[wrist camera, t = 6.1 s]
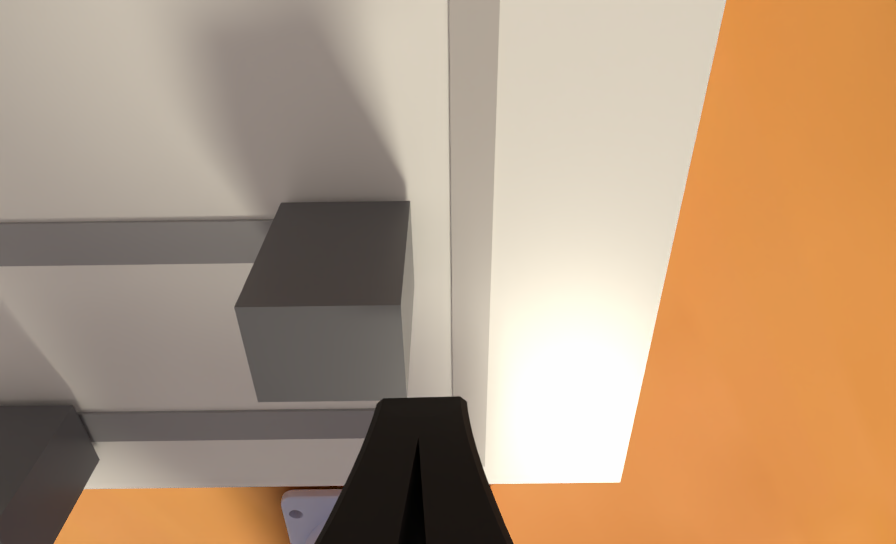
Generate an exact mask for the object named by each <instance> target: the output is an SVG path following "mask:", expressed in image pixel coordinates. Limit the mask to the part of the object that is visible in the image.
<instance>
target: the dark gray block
mask: <svg viewBox="0 0 896 544" xmlns="http://www.w3.org/2000/svg"><path fill="white" fill-rule="evenodd" d="M413 300H414V266H413V246H412V226H411V206H410V201H362V202H285V203H281V204H280V206H279V208H278V210H277V213H276V215H275V217H274V219H273V222H272V224H271V226H270V228H269V231H268V233H267V235H266V237H265V239H264V242H263V244H262V246H261V248H260V251H259V253H258V255H257V257H256V260H255V262H254V264H253V266H252V268H251V271H250V273H249V275H248V277H247V280H246V282H245V284H244V286H243V289H242V291H241V293H240V295H239V298H238V300H237V302H236V304H235V306H234V309H235V313H236V317H237V321H238V325H239V329H240V333H241V337H242V340H243V344H244V348H245V352H246V356H247V360H248V364H249V368H250V372H251V376H252V380H253V384H254V388H255V392H256V396H257V400H258V402H313V401H381V400H382V399H383V398H407V394H408V378H409V362H410V347H411V331H412V316H413Z"/></svg>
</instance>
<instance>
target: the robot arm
mask: <svg viewBox="0 0 896 544" xmlns="http://www.w3.org/2000/svg"><path fill="white" fill-rule="evenodd" d="M281 508H282V512H283V516H284V519H285V523H286V527H287V531H288V535H289V539H290V543H291V544H513V542H512V539H511V537H510V535H509V532H508V530H507V528H506V526H505V523H504V521H503V518H502V516H501V513H500V511H499V508H498V506H497V503H496V501H495V498H494V496H493V493H492V491H491V488H490V486H489V483H488V480H487V478H486V475H485V472H484V469H483V466H482V463H481V460H480V457H479V454H478V450H477V447H476V444H475V440H474V437H473V433H472V428H471V424H470V419H469V414H468V406H467V401H466V400H464V399H463V398H462V397H460V396H453V397H413V398H383V399H382V400H381V401H379V402H378V403H377V404H376V408H375V411H374V414H373V418H372V420H371V423H370V426H369V429H368V432H367V434H366V437H365V439H364V442H363V444H362V447H361V449H360V452H359V454H358V456H357V458H356V461H355V463H354V465H353V468H352V470H351V472H350V474H349V476H348V479H347V481H346V483H345V485H344V487H343V489H300V490H289V491H287V492H285V493H284V494H283V496H282V500H281Z"/></svg>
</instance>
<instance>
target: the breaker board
mask: <svg viewBox="0 0 896 544" xmlns="http://www.w3.org/2000/svg"><path fill="white" fill-rule="evenodd" d="M725 3H726V0H0V406H41V405H73V406H74V408H75V410H76V412H77V414H78V416H79V418H80V420H81V422H82V424H83V426H84V428H85V430H86V432H87V435H88V437H89V439H90V441H91V443H92V445H93V447H94V449H95V451H96V453H97V455H98V457H99V459H100V460H99V462H98V464H97V466H96V468H95V469H94V471H93V473H92V475H91V477H90V478H89V480H88V482H87V484H86V486H85V487H84V489H123V488H202V487H282V486H344V485H345V483H346V481H347V479H348V476H349V474H350V472H351V470H352V468H353V465H354V463H355V461H356V458H357V456H358V454H359V452H360V449H361V447H362V444H363V442H364V439H365V437H366V434H367V432H368V429H369V426H370V423H371V420H372V418H373V414H374V411H375V408H376V404H377V403H378V402H379V401H313V402H258V400H257V396H256V392H255V388H254V384H253V380H252V376H251V372H250V368H249V364H248V360H247V356H246V352H245V348H244V344H243V340H242V337H241V333H240V329H239V325H238V321H237V317H236V313H235V309H234V306H235V304H236V302H237V300H238V298H239V295H240V293H241V291H242V289H243V286H244V284H245V282H246V280H247V277H248V275H249V273H250V271H251V268H252V266H253V264H254V262H255V260H256V257H257V255H258V253H259V251H260V248H261V246H262V244H263V242H264V239H265V237H266V235H267V233H268V231H269V228H270V226H271V224H272V222H273V219H274V217H275V215H276V213H277V210H278V208H279V206H280V204H281V203H285V202H362V201H410V206H411V226H412V246H413V266H414V300H413V316H412V331H411V347H410V362H409V378H408V394H407V398H413V397H453V396H460V397H462V398H463V399H464V400H466V401H467V406H468V414H469V419H470V424H471V428H472V433H473V437H474V440H475V444H476V447H477V450H478V454H479V457H480V460H481V463H482V466H483V469H484V472H485V475H486V478H487V480H488V483H489V484H521V483H601V482H620V481H621V476H622V472H623V467H624V462H625V458H626V453H627V449H628V444H629V440H630V435H631V431H632V426H633V422H634V417H635V412H636V408H637V403H638V399H639V394H640V390H641V385H642V381H643V376H644V371H645V367H646V362H647V358H648V353H649V349H650V344H651V340H652V335H653V331H654V326H655V321H656V317H657V312H658V308H659V303H660V299H661V294H662V290H663V285H664V281H665V276H666V271H667V267H668V262H669V258H670V253H671V249H672V244H673V240H674V235H675V231H676V226H677V221H678V217H679V212H680V208H681V203H682V199H683V194H684V190H685V185H686V180H687V176H688V171H689V167H690V162H691V158H692V153H693V149H694V144H695V140H696V135H697V130H698V126H699V121H700V117H701V112H702V108H703V103H704V99H705V94H706V90H707V85H708V80H709V76H710V71H711V67H712V62H713V58H714V53H715V49H716V44H717V40H718V35H719V30H720V26H721V21H722V17H723V12H724V8H725Z"/></svg>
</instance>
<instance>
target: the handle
mask: <svg viewBox="0 0 896 544" xmlns="http://www.w3.org/2000/svg"><path fill="white" fill-rule="evenodd" d="M99 460H100V459H99V457H98V455H97V453H96V451H95V449H94V447H93V445H92V443H91V441H90V439H89V437H88V435H87V432H86V430H85V428H84V426H83V424H82V422H81V420H80V418H79V416H78V414H77V412H76V410H75V408H74V406H73V405H41V406H0V544H53V543H54V541H55V540H56V538H57V536H58V534H59V532H60V531H61V529H62V527H63V525H64V523H65V522H66V520H67V518H68V516H69V514H70V513H71V511H72V509H73V507H74V505H75V504H76V502H77V500H78V498H79V496H80V495H81V493H82V491H83V489H84V487H85V486H86V484H87V482H88V480H89V478H90V477H91V475H92V473H93V471H94V469H95V468H96V466H97V464H98V462H99Z"/></svg>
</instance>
